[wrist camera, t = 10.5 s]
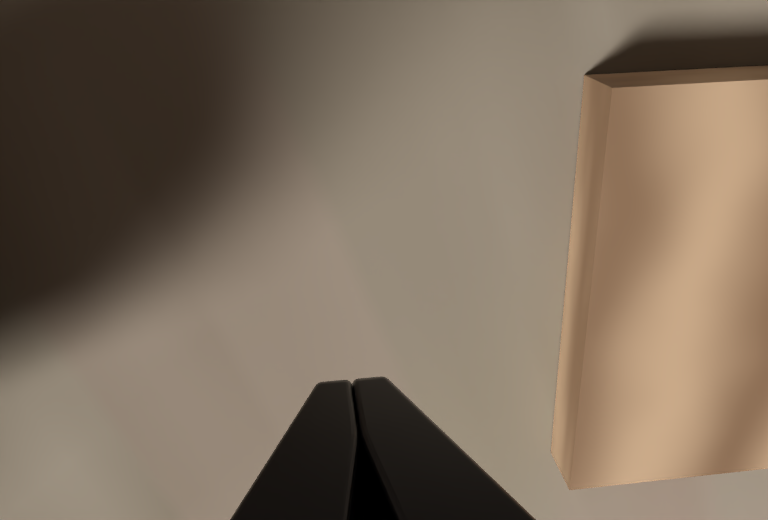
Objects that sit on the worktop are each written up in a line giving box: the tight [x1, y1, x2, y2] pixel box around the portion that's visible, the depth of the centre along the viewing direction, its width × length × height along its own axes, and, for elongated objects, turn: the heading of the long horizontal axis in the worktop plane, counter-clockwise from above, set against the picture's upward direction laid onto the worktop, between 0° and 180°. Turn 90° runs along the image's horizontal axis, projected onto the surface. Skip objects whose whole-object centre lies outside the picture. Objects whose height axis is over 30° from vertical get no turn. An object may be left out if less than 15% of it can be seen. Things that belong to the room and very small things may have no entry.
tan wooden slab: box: [551, 65, 768, 490], centre depth 23 cm, size 12×14×2 cm
